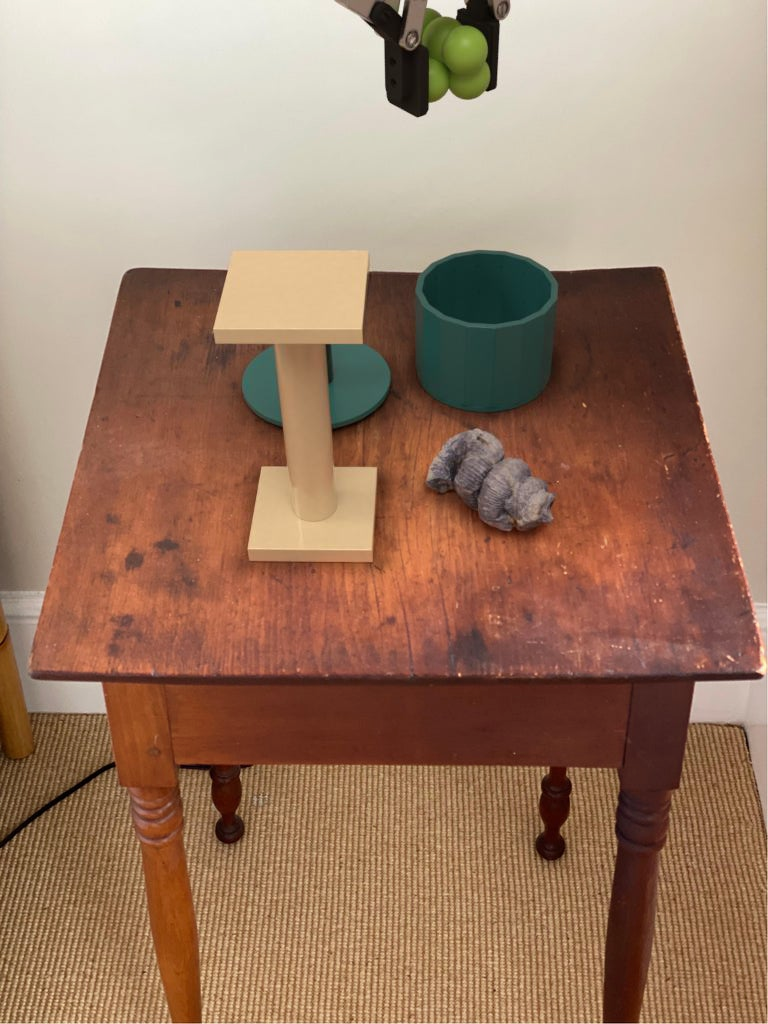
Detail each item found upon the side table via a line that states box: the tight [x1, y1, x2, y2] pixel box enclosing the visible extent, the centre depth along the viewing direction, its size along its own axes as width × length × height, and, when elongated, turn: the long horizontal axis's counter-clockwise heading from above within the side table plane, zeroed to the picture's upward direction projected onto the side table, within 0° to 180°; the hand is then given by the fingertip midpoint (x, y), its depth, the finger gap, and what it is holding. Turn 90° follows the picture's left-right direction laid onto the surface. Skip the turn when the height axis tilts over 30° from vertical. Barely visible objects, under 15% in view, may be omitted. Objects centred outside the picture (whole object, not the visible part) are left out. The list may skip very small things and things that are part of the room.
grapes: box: [419, 7, 490, 104], centre depth 66 cm, size 6×5×4 cm
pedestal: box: [212, 249, 379, 563], centre depth 69 cm, size 8×8×18 cm
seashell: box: [424, 427, 556, 532], centre depth 74 cm, size 5×5×10 cm
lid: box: [241, 343, 392, 430], centre depth 84 cm, size 11×11×7 cm
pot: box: [414, 249, 559, 413], centre depth 84 cm, size 10×10×8 cm
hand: (442, 92), depth 67 cm, fingers closed on grapes, 4 cm apart
